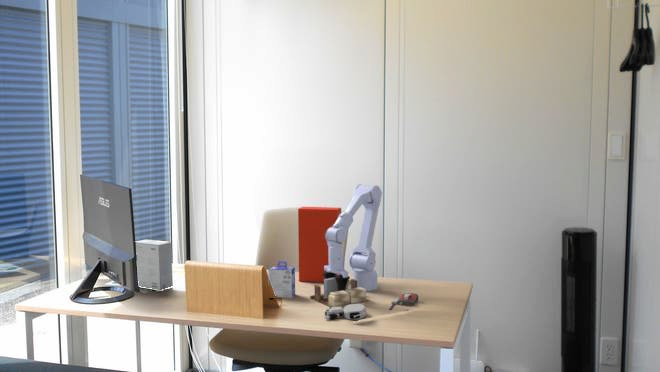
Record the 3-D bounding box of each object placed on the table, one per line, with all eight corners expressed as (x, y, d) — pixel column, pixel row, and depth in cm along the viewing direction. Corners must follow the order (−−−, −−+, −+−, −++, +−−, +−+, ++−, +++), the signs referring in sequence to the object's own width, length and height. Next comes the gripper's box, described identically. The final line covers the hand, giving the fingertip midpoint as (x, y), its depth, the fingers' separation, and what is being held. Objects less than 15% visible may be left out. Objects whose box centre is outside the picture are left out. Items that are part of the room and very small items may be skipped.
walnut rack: (348, 294, 290) (348, 277, 289) (371, 303, 276) (371, 285, 275) (310, 300, 280) (309, 283, 279) (331, 310, 267) (331, 292, 266)
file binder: (304, 277, 319) (303, 206, 315) (341, 279, 314) (341, 207, 311) (298, 281, 311) (297, 208, 307) (337, 283, 307) (336, 210, 303)
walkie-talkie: (397, 299, 283) (386, 313, 264) (397, 288, 283) (386, 301, 264) (419, 300, 281) (410, 315, 262) (419, 289, 280) (410, 303, 261)
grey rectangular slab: (345, 295, 284) (345, 275, 283) (348, 296, 282) (348, 276, 282) (324, 299, 279) (323, 279, 278) (326, 300, 277) (326, 280, 276)
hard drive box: (173, 288, 301) (172, 242, 299) (160, 292, 295) (158, 245, 292) (147, 283, 309) (145, 238, 307) (134, 287, 303) (132, 241, 301)
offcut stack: (360, 298, 279) (360, 287, 279) (366, 300, 276) (365, 289, 276) (328, 304, 272) (328, 292, 271) (334, 306, 268) (334, 295, 268)
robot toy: (324, 326, 251) (367, 323, 251) (323, 314, 251) (366, 310, 250) (326, 316, 263) (366, 313, 263) (325, 304, 263) (365, 301, 262)
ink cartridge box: (296, 296, 287) (295, 261, 285) (292, 300, 281) (292, 264, 280) (272, 295, 289) (271, 260, 287) (268, 299, 283) (267, 263, 282)
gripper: (317, 255, 283) (317, 289, 284) (337, 262, 271) (337, 297, 272) (332, 253, 287) (332, 286, 288) (352, 260, 274) (352, 294, 276)
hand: (336, 291), depth 280 cm, fingers open, 7 cm apart
